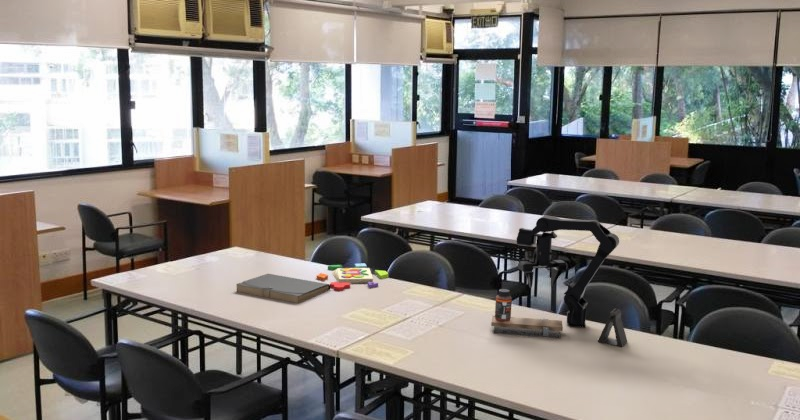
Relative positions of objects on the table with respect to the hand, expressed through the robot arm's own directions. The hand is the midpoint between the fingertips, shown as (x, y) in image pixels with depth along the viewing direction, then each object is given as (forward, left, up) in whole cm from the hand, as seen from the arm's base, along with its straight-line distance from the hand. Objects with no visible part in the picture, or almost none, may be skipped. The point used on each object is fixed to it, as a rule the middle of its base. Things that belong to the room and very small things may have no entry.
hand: (541, 286), depth 287 cm
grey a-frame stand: (-26, +21, -13) cm, 36 cm away
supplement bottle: (+14, +16, -9) cm, 23 cm away
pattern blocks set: (+86, -41, -14) cm, 96 cm away
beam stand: (+5, +16, -13) cm, 21 cm away
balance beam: (+5, +16, -11) cm, 20 cm away
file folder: (+110, -12, -14) cm, 112 cm away
